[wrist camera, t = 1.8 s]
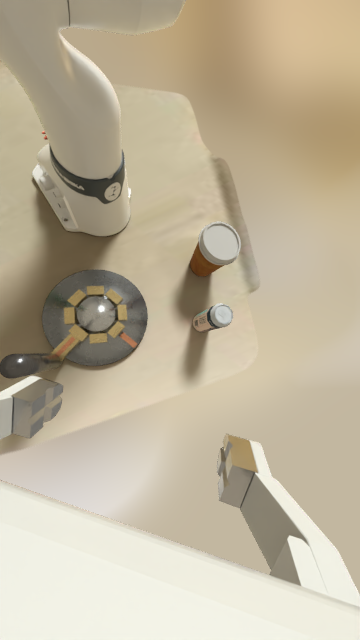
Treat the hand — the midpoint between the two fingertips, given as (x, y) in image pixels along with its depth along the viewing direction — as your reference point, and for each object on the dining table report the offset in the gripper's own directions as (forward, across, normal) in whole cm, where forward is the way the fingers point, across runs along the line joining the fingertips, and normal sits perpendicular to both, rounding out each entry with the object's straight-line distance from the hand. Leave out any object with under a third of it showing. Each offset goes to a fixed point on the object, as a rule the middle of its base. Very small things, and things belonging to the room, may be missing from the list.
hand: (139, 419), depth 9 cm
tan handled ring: (+28, +20, +8) cm, 36 cm away
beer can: (+40, -3, +4) cm, 41 cm away
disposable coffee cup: (+46, +1, -10) cm, 47 cm away
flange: (+31, +19, +6) cm, 37 cm away
